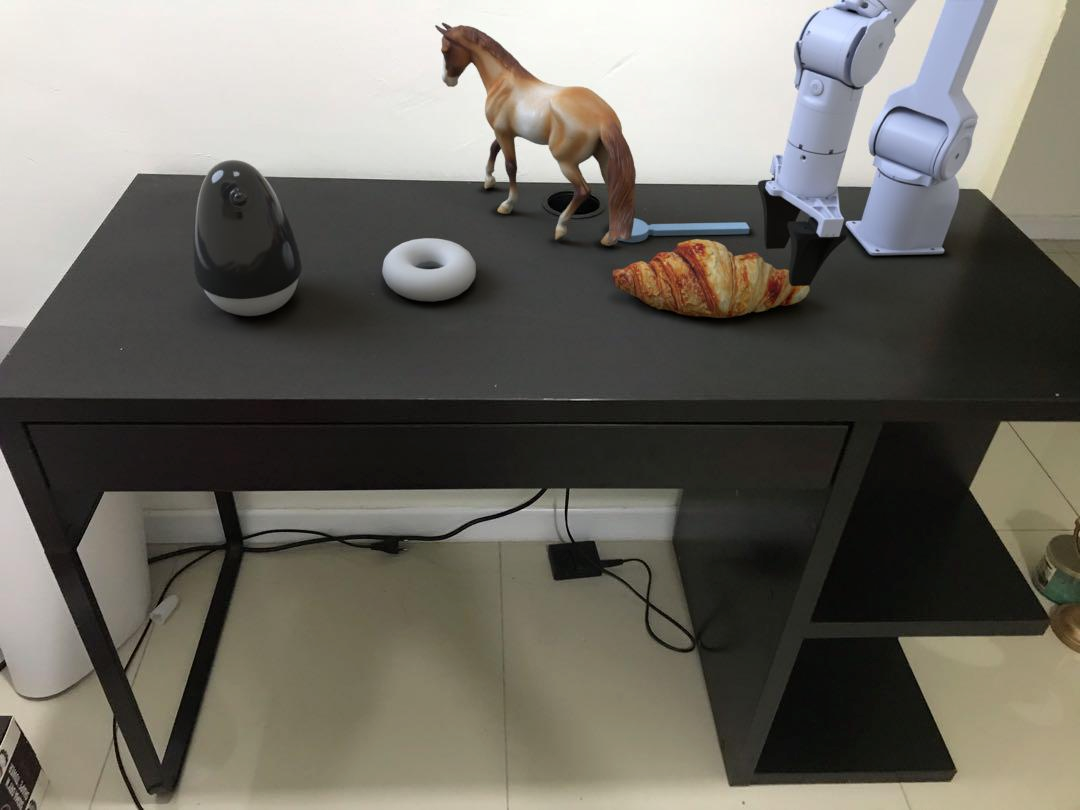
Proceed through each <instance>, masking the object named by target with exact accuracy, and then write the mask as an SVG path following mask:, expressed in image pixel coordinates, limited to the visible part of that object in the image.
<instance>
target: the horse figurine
mask: <svg viewBox="0 0 1080 810" xmlns="http://www.w3.org/2000/svg"><path fill="white" fill-rule="evenodd" d="M441 25H442V26H443V28H442V27H441V26H439V25H437V24H435V26H434V27H435V28H436V30H437V31H438V32H439V33H440V34H441V35H442V37H441V48H440V52H441V53H442V59H443V60H442V63H443V64H442V65H443V66H442V75H441V80H442V83H444V84H445V85H446V86H447V87H448V88H450V87H451V88H454V87H456V86H457V85H458V83H459V78H460V77H461V75H462V74H463V73H464V72H465V70H466V69H467V68H468V66H469V65H471V64H473V65H474V67H475V68H476V70H477V72H478V74H479V77H480V79H481V82H482V84H483V86H484V89H485V91H486V98H485V104H484V112H485V113H484V116H485V119H486V121H487V123H488V124H489V126H490V128H491V129H492V130H493V133H494V137H495V139H494V140H493V141H492V143H491V145H490V147H489V157H488V159H487V163H486V165H485V168H484V169H485V176H484V185H483V186H484V189H485V190H487V189H489V188H492V187H494V186H496V184H497V181H496V177H495V176H494V175H493V173H494V172H495V167H496V166H495V164H496V161H497V157H498V154H499V153H500V151H501V152H502V155H503V157H504V166H505V172H506V175H507V177H508V181H509V193H508V198H507V199H505V201H503V202H502V203H501V204H500V206H499V207H498V208H497V212H498V213H499V214H503V215H508V214H511V212H512V210H513V208H514V207H513V204H514V203H516V202H518V200H519V194H518V186H517V173H518V163H517V162H518V161H517V154H516V143H515V138H517V137H518V138H522V139H524V140H526V141H529V142H531V143H533V144H535V145H541V146H548V150H549V152H550V154H551V156H552V157H553V159H554V160H555V161H556V162H557V164H558V167H559V169H560V172H561V173H562V175H563V177H565V179H566V180H568V181H569V182H570V184H571V185H572V187H573V197H572V199H571V201H570V203H569V204H568V205H567V207H566V209H564V210H563V211H562V213H561V214H560V215H559V217H558V221H557V224H556V226H555V235H554V240H555V241H559V240H561V239H562V238H563V237H565V236H566V235H568V228H567V226H566V224H567V223H570V222H571V219H572V217H573V216H574V214H575V213H576V211H577V209H578V208H579V207H580V206H581V205H582V204H583V203H584V202H585V201H586V200H587V199H588V198H589V197H590V196H591V194H592V188H591V186H590V184H589V183H588V182H587V181H586V179H585V178H584V175H583V173H582V171H581V169H580V164H582V163H584V162H586V161H587V160H589V159H591V157H593V158H594V159H595V161H596V162H597V163H598V166H599V167H598V168H599V172H600V174H601V177H602V179H603V182H604V184H605V186H606V189H607V193H608V199H607V201H608V203H607V204H608V220H609V224H608V225H609V226H608V231H607V232H606V233H605V235H604V236H603V238H602V239H601V240H600V243H601V244H602V245H603V246H607V247H611V246H615V245H617V243H618V241H619V240H618V239H619V238H621V239H622V240H625V239H630V237H631V235H632V230H633V224H634V218H635V217H636V209H635V204H636V203H635V202H636V196H635V195H636V192H635V189H636V179H637V171H636V167H635V161H634V157H633V154H632V151H631V148H630V146H629V144H628V142H627V140H626V138H625V136H624V134H623V126H622V122H621V120H620V118H619V116H618V114H617V112H616V111H615V110H614V108H613V107H611V105H610V104H609V103H608V102H607V101H606V100H604V98H603V97H601V96H600V95H599V94H597V93H596V92H595V91H593V90H592V89H590V88H588V87H584V86H577V85H575V86H563V85H562V86H561V85H556V84H553V83H548V82H545V81H543V80H541V79H539V78H538V77H536V76H535V75H534V74H532V73H531V72H530V71H529V70H528V69H527V68H525V67H524V66H523V65H522V64H521V63H520V62H519V60H518V59H517V58H516V57H515V56H514V55H513V54H512V53H511V52H509V51H508V50H507V49H506V48H505V47H504V46H503V45H502V44H501V43H500V42H498V41H497V40H496V39H494V38H493V37H492V36H490V35H488V34H487V33H486V32H484V31H481V30H480V29H478V28H477V27H473V26H470V25H462V24H459V25H457V26H451V25H449V24H447V23H445V22H441ZM444 28H445V29H444Z"/></svg>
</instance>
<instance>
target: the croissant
mask: <svg viewBox="0 0 1080 810" xmlns="http://www.w3.org/2000/svg"><path fill="white" fill-rule="evenodd" d="M612 283H614V285H615V286H616V287H617V289H619V290H621V291H623V292H625V293H627V294H630V295H632V296H633V297H635V298H638V299H639V300H641V301H642V302H643V303H644V304H646V305H647V306H648V305H649V306H650V307H653V308H655V309H657V310H666V311H672V312H674V313H676V314H680V315H683V316H688V317H689V316H690V317H696V318H697V317H706V318H707V317H708V318H716V319H727V318H733V317H740V316H743V315H747V314H749V313H750V314H751V312H754V313H760V312H766V311H768V310H769V309H773V308H776V307H778V306H782V307H783V306H784V307H786V306H791V305H794V304H797V303H800V302H801V301H803V300H804V299H805V298H806V297H807V295H808V294H809V292H810V289H811V287H810V285H809V286H791V285H790V283H789V269H787V268H783V269H777V268H775V267H774V266H773V265H772V264H770V263H768V262H765V260H764V258H763V257H762V256H760V255H759V254H758V253H757V252H750V253H749V252H748V253H745V254H738V255H733V253H732V252H731V251H728V248H727V247H726V245H724V244H722V243H720V242H718V241H715V240H714V241H713V240H709V239H700V238H699V239H698V238H696V239H690V240H686V241H685V240H684V241H683V242H678V243H677V245H676V247H675V248H674V249H673V250H672V251H671V252H670V251H665V252H663V251H662V252H658V253H657V254H655V255H654V256H653V257H652V259H651V260H650V261H649V262H646V261H643V260H640V261H636V262H635V261H634V262H633V263H631V264H629V265H627V266H626V267H623V268H616V269H613V270H612Z"/></svg>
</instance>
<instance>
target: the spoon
mask: <svg viewBox="0 0 1080 810" xmlns="http://www.w3.org/2000/svg"><path fill="white" fill-rule="evenodd" d="M750 230H751V228H750V226H749V225H748V224H747V222H741V221H740V222H698V223H697V222H696V223H695V222H693V223H691V222H689V223H651V224H647V222H646V221H644V220H642V219H639V218H635V217H634V224H633V230H632V235H631V237H630V239H625V240H622V239H621V238H619V239H618V241H620V242H623V243H631V244H632V243H634V244H635V243H640V242H643V241H646V239H647V238H648V237H649V236H653V237H669V236H671V237H672V236H674V237H675V236H678V237H679V236H716V235H717V236H719V235H720V236H721V235H749V234H750Z"/></svg>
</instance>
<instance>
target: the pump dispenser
mask: <svg viewBox="0 0 1080 810" xmlns="http://www.w3.org/2000/svg"><path fill="white" fill-rule="evenodd" d="M197 196H198V197H197V200H196V201H197V202H196V206H195V214H194V224H193V238H192V245H193V246H192V248H193V249H192V251H193V252H192V253H193V255H192V256H193V268H194V274H195V279H196V282H197V284H198V285H199V286H200V288H201V289H203V291H204V293H205V294H206V296H207V297H208V299H209V300H210V301H211V302H212V303H213V304H214V305H215V306H217V307H218V308H220V309H221V310H223V311H224V312H227V313H229V314H233V315H235V316H236V315H237V316H243V317H257V316H262V315H265V314H270V313H272V312H275V311H276V310H278V309H280V308H281V307H283V306H284V305H285V304H286V303H287V302H289V301H290V299H291V298H292V297H293V295H294V293H295V291H296V288H297V286H298V282H299V277H300V276H301V273H302V267H303V266H302V259H301V255H300V254H301V253H300V250H299V247H298V244H297V241H296V238H295V235H294V232H293V228H292V225H291V224H290V222H289V219H288V217H287V214H286V212H285V210H284V208H283V205H282V203H281V201H280V200H279V198H278V196H277V194H276V192H275V190H274V188H273V187H272V186H271V184H270V183H269V181H268V180H267V179H266V177H265V176H264V175H263V173H261V172H260V171H259V170H258V168H256V167H255V166H254V165H252V164H251V163H248V162H246V161H244V160H243V161H242V160H239V159H227V160H223V161H221V162H219V163H217V164H215V165H214V166H213V167H211V169H209V171H208V172H207V174H206V175H205V177H204V179H203V181H202V184H201V186H200V188H199V192H198V195H197Z"/></svg>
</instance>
